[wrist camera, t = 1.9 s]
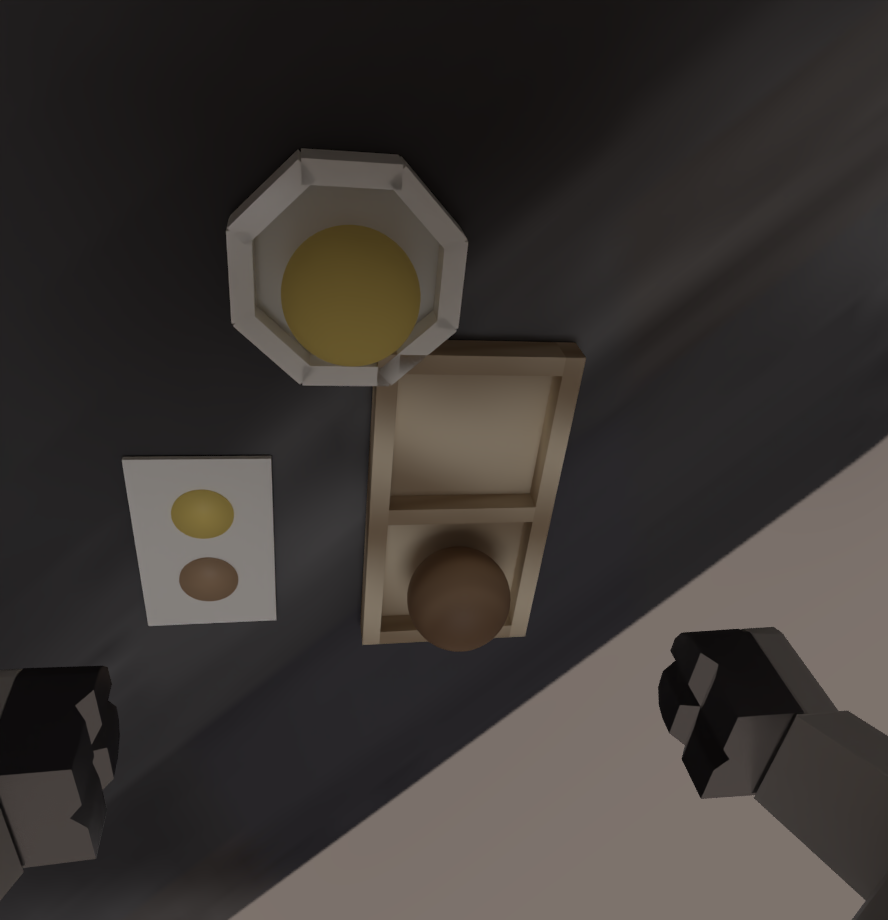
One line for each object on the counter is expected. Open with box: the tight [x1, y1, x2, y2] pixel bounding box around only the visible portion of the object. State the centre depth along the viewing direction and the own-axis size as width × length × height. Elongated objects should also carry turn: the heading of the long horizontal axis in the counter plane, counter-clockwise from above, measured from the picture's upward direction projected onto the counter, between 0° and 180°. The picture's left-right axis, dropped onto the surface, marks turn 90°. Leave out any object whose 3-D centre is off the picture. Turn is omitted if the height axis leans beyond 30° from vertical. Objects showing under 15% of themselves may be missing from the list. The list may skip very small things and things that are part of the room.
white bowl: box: [226, 148, 468, 386], centre depth 24 cm, size 7×7×1 cm
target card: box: [122, 456, 276, 626], centre depth 29 cm, size 8×5×1 cm, turn 174°
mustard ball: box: [281, 225, 421, 367], centre depth 22 cm, size 4×4×4 cm
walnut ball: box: [407, 546, 511, 651], centre depth 30 cm, size 4×4×4 cm
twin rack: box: [360, 340, 586, 645], centre depth 29 cm, size 13×7×1 cm, turn 174°
